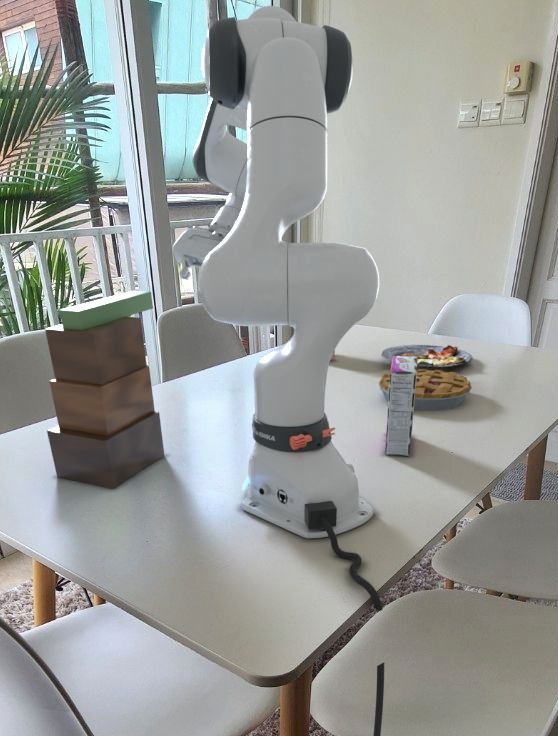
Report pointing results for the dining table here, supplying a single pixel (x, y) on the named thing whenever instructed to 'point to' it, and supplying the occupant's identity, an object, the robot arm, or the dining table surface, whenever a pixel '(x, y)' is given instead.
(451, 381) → the pie
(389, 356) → the food plate
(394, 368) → the candy bar box
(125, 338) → the block stack
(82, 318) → the green bar
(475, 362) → the dining table surface
